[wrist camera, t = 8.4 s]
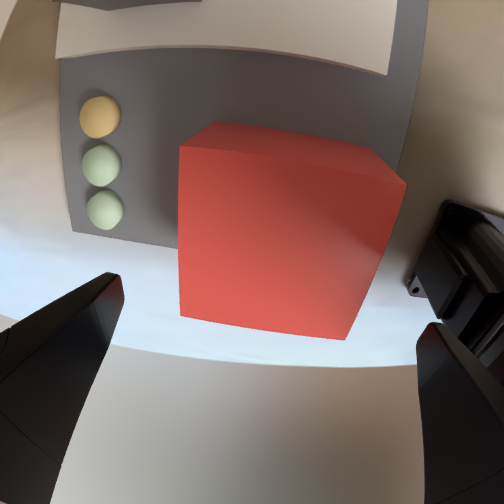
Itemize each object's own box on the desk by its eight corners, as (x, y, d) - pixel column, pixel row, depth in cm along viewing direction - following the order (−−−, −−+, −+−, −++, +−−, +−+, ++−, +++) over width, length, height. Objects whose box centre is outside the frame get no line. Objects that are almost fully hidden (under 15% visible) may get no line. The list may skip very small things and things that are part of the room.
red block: (369, 147, 12) (407, 185, 8) (333, 271, 16) (344, 340, 12) (215, 121, 12) (179, 145, 8) (206, 252, 16) (180, 315, 12)
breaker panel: (421, -55, 6) (443, -72, 4) (356, 264, 17) (365, 296, 15) (97, -70, 7) (70, -82, 4) (82, 222, 17) (58, 244, 15)
